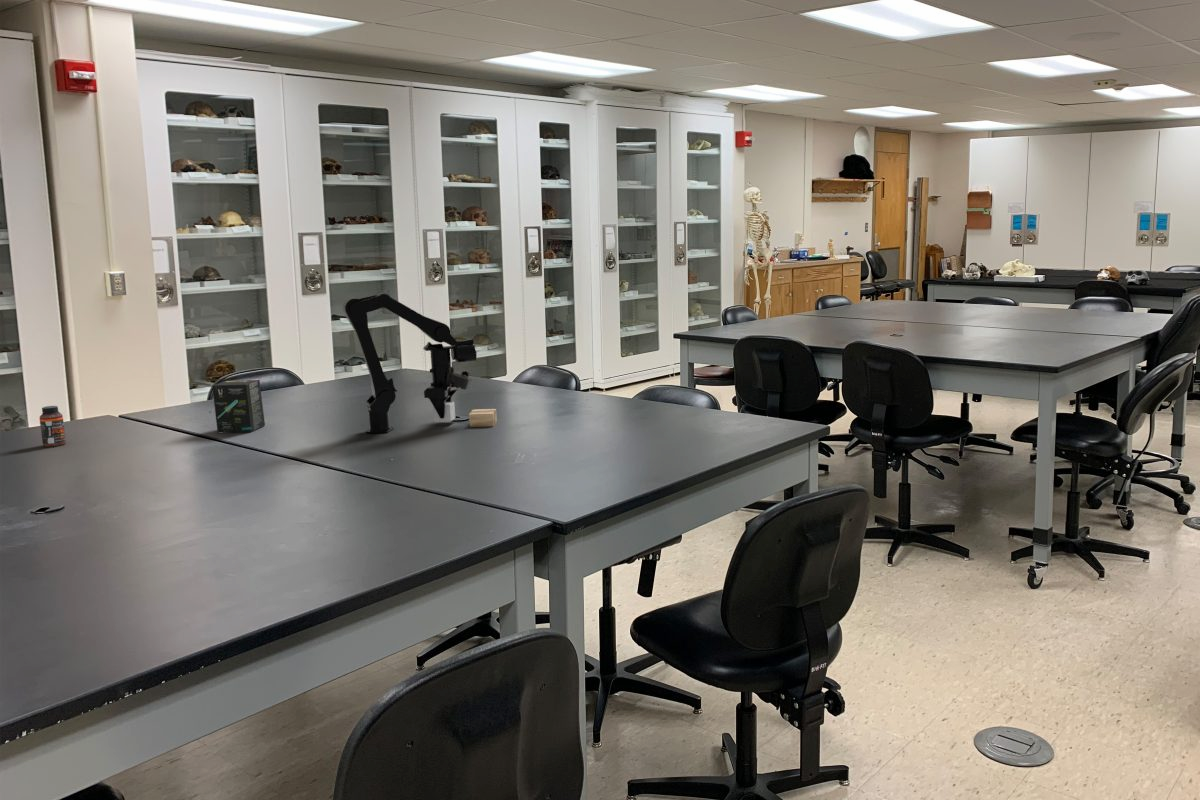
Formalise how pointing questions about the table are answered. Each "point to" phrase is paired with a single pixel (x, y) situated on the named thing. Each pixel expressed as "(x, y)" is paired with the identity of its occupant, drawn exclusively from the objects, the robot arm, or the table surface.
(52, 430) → the supplement bottle
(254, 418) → the tampon box
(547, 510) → the table surface
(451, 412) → the white cube
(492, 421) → the oak block
